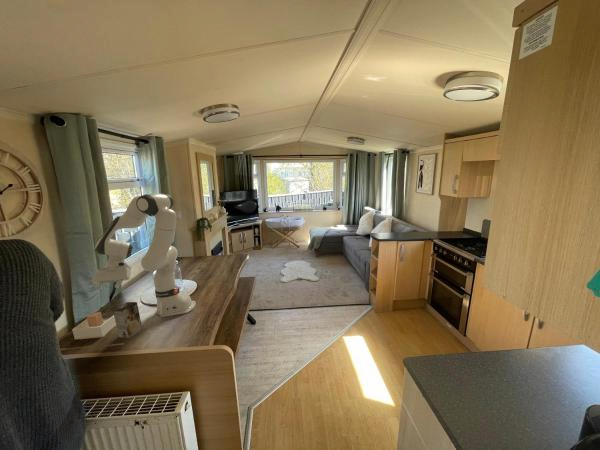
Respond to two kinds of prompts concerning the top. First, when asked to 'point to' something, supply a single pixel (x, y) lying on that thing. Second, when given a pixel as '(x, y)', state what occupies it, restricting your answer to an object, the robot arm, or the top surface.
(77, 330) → the tray
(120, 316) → the coffee box
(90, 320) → the terracotta block
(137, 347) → the top surface
